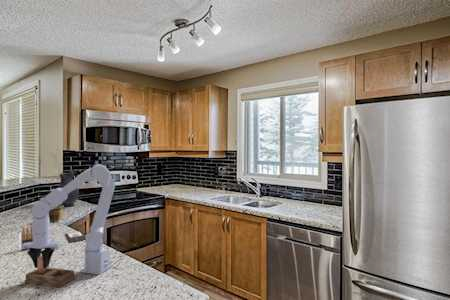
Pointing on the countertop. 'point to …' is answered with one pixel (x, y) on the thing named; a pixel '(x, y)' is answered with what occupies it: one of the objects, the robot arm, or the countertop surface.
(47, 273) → the rack
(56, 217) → the ceramic cup
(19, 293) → the countertop surface
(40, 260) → the clay rod
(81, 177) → the robot arm
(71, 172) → the pitcher
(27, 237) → the ammunition clip
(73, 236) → the chocolate bar
